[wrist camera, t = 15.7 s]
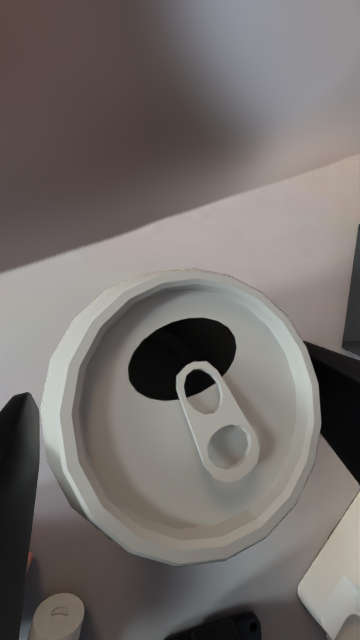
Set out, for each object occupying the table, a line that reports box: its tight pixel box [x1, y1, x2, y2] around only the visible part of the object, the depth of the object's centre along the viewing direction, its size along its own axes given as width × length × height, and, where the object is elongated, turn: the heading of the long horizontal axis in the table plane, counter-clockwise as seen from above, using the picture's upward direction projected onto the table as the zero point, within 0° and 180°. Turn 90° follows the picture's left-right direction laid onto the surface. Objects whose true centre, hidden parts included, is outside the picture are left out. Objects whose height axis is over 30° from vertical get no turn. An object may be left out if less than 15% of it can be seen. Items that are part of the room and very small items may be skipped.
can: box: [40, 268, 321, 567], centre depth 11 cm, size 8×8×12 cm
